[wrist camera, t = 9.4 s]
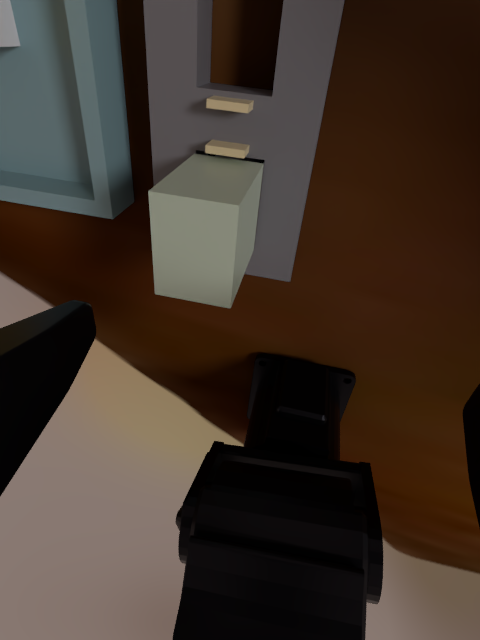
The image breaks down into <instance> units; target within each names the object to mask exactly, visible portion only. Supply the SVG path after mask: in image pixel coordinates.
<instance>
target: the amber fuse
mask: <svg viewBox="0 0 480 640" xmlns="http://www.w3.org/2000/svg"><path fill="white" fill-rule="evenodd" d="M13 46H20V42H19V37H18V33H17V29H16V24H15V20H14V15H13V11H12V6H11V2H10V0H0V47H13Z"/></svg>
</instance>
